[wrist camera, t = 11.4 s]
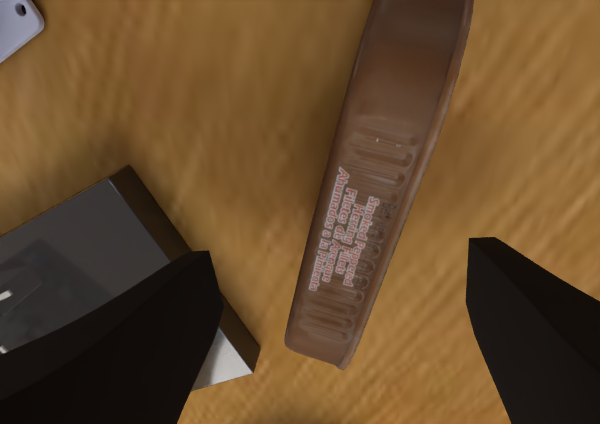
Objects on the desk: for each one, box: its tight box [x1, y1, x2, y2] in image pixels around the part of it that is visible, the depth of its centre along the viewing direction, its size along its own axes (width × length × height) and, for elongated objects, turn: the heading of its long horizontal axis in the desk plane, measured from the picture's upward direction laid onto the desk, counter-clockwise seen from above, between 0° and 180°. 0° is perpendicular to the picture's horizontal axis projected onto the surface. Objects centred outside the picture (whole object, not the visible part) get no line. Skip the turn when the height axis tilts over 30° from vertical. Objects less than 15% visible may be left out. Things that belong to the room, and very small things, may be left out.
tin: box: [285, 0, 474, 370], centre depth 15 cm, size 15×3×8 cm, turn 168°
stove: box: [0, 165, 260, 391], centre depth 25 cm, size 15×19×2 cm
